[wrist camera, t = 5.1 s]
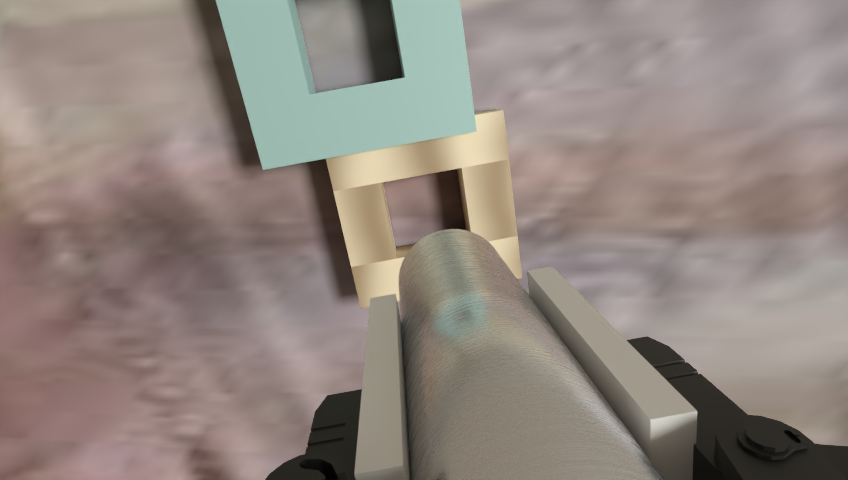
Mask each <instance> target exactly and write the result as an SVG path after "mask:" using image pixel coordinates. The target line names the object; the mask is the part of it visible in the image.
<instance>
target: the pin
mask: <svg viewBox="0 0 848 480" xmlns="http://www.w3.org/2000/svg"><path fill="white" fill-rule="evenodd" d="M398 283H399V300H400V317H401V326H402V342H403V358H404V374H405V390H406V407H407V423H408V439H409V455H410V471H411V480H664V478H663V477H662V476H661V474H660V473H659V471H658V470H657V469H656V467H655V466H654V465H653V463H652V462H651V461H650V459H649V458H648V456H647V455H646V454H645V452H644V451H643V450H642V448H641V447H640V446H639V444H638V443H637V441H636V440H635V439H634V437H633V436H632V435H631V433H630V432H629V431H628V429H627V428H626V427H625V425H624V424H623V422H622V421H621V420H620V418H619V417H618V416H617V414H616V413H615V412H614V410H613V409H612V407H611V406H610V405H609V403H608V402H607V401H606V399H605V398H604V397H603V395H602V394H601V392H600V391H599V390H598V388H597V387H596V386H595V384H594V383H593V382H592V380H591V379H590V377H589V376H588V375H587V373H586V372H585V371H584V369H583V368H582V367H581V365H580V364H579V363H578V361H577V360H576V358H575V357H574V356H573V354H572V353H571V352H570V350H569V349H568V348H567V346H566V345H565V343H564V342H563V341H562V339H561V338H560V337H559V335H558V334H557V333H556V331H555V330H554V328H553V327H552V326H551V324H550V323H549V322H548V320H547V319H546V318H545V316H544V315H543V314H542V312H541V311H540V309H539V308H538V307H537V305H536V304H535V303H534V301H533V300H532V299H531V297H530V296H529V294H528V293H527V292H526V290H525V289H524V288H523V286H522V285H521V284H520V282H519V281H518V279H517V278H516V277H515V275H514V274H513V273H512V271H511V270H510V269H509V267H508V266H507V264H506V263H505V262H504V260H503V259H502V258H501V256H500V255H499V254H498V252H497V251H496V250H495V248H494V247H493V246H492V245H491V244H490V243H489V242H488V241H487V240H486V239H484V238H483V237H481V236H480V235H478V234H475V233H473V232H470V231H467V230H461V229H447V230H441V231H437V232H434V233H432V234H429V235H427V236H426V237H424V238H422V239H421V240H419V241H418V242H417V243H416V244H415V245H414V246H413V247H412V248H411V249H410V250H409V251H408V253H407V254H406V256H405V258H404V260H403V262H402V264H401V267H400V271H399V281H398Z"/></svg>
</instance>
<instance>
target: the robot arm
mask: <svg viewBox="0 0 848 480" xmlns="http://www.w3.org/2000/svg"><path fill="white" fill-rule="evenodd" d="M527 275H528V286H529V296H530V297H531V299H532V300H533V301H534V303H535V304H536V305H537V307H538V308H539V309H540V311H541V312H542V314H543V315H544V316H545V318H546V319H547V320H548V322H549V323H550V324H551V326H552V327H553V328H554V330H555V331H556V333H557V334H558V335H559V337H560V338H561V339H562V341H563V342H564V343H565V345H566V346H567V348H568V349H569V350H570V352H571V353H572V354H573V356H574V357H575V358H576V360H577V361H578V363H579V364H580V365H581V367H582V368H583V369H584V371H585V372H586V373H587V375H588V376H589V377H590V379H591V380H592V382H593V383H594V384H595V386H596V387H597V388H598V390H599V391H600V392H601V394H602V395H603V397H604V398H605V399H606V401H607V402H608V403H609V405H610V406H611V407H612V409H613V410H614V412H615V413H616V414H617V416H618V417H619V418H620V420H621V421H622V422H623V424H624V425H625V427H626V428H627V429H628V431H629V432H630V433H631V435H632V436H633V437H634V439H635V440H636V441H637V443H638V444H639V446H640V447H641V448H642V450H643V451H644V452H645V454H646V455H647V456H648V458H649V459H650V461H651V462H652V463H653V465H654V466H655V467H656V469H657V470H658V471H659V473H660V474H661V476H662V477H663V478H664V480H848V446H833V445H820V444H814V443H813V442H812V441H811V440H810V439H808V438H807V437H806V436H805V435H803V434H802V433H801V432H800V431H798V430H797V429H795V428H792V427H790V426H788V425H786V424H784V423H782V422H780V421H777V420H773V419H770V418H766V417H762V416H754V415H747V414H746V413H745V412H744V411H743V410H742V409H740V408H739V407H738V406H737V405H736V404H735V403H734V402H732V401H731V400H730V399H729V398H728V397H727V396H726V395H724V394H723V393H722V392H721V391H720V390H719V389H717V388H716V387H715V386H714V385H713V384H712V383H711V382H709V381H708V380H707V379H706V378H705V377H704V376H702V375H701V374H698V372H697V370H696V369H694V368H693V367H692V366H691V365H690V364H689V363H685V361H684V359H683V358H682V357H681V356H679V355H678V354H677V353H676V352H675V351H674V350H672V349H671V348H670V347H669V346H667V345H665V344H663V343H660V342H658V341H656V340H654V339H651V338H649V337H642V338H636V339H631V340H626V339H625V338H624V337H623V336H622V335H621V334H620V333H619V332H618V331H617V330H616V329H615V328H614V327H613V326H612V325H611V324H610V323H608V322H607V321H606V320H605V319H604V318H603V317H602V316H601V315H600V314H599V313H598V312H597V311H596V310H595V309H594V308H593V307H592V306H591V305H590V304H589V303H588V302H587V301H586V300H585V299H584V298H583V297H582V296H581V295H580V294H579V293H578V292H577V291H576V290H575V289H574V288H573V287H572V286H571V285H570V284H569V283H568V282H567V281H566V280H565V279H564V278H563V277H562V276H561V275H560V274H559V273H558V272H557V271H556V270H555V269H554V268H553V267H546V268H540V269H535V270H529V271H527ZM265 480H411V471H410V455H409V439H408V423H407V407H406V390H405V374H404V358H403V342H402V326H401V319H400V314H399V309H398V303H397V298H396V294H391V295H385V296H379V297H374V298H370V305H369V316H368V327H367V338H366V349H365V361H364V372H363V383H362V389H361V390H355V391H350V392H344V393H339V394H333V395H328V396H327V397H326V398H325V400H324V401H323V402H322V403H321V405H320V406H319V407H318V409H317V410H316V411H315V415H314V419H313V423H312V427H311V433H310V436H309V440H308V447H307V449H306V453H305V455H300V456H298V457H296V458H293V459H291V460H289V461H287V462H285V463H283V464H282V465H281V466H279V467H278V468H277V469H275V470H274V471H273V472H272V473H270V474H269V475H268V477H267V478H266V479H265Z"/></svg>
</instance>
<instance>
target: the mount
mask: <svg viewBox="0 0 848 480" xmlns="http://www.w3.org/2000/svg"><path fill="white" fill-rule="evenodd" d="M474 114H475V121H476V129H477V131H476V132H470V133H465V134H459V135H454V136H448V137H442V138H437V139H431V140H426V141H420V142H415V143H409V144H404V145H398V146H393V147H387V148H382V149H376V150H370V151H365V152H359V153H354V154H348V155H343V156H337V157H332V158H326V162H327V166H328V171H329V175H330V179H331V183H332V188H333V192H334V196H335V201H336V205H337V209H338V213H339V218H340V222H341V226H342V230H343V235H344V239H345V243H346V248H347V252H348V256H349V260H350V265H351V269H352V273H353V277H354V282H355V286H356V290H357V295H358V299H359V303H360V307H361V308H365V307H369V305H370V298H374V297H379V296H385V295H391V294H396V298H397V301H400V300H399V283H398V281H399V271H400V267H401V264H402V262H403V260H404V258H405V256H406V254H407V253H408V251H409V250H410V249H411V248H412V247H413V246H414V245H415V244H413V245H408V246H403V247H397V248H396V246H395V241H394V236H393V231H392V226H391V221H390V216H389V211H388V206H387V201H386V196H385V191H384V186H383V182H387V181H393V180H398V179H404V178H409V177H415V176H420V175H426V174H431V173H437V172H442V171H447V170H453V169H457V172H458V179H459V185H460V192H461V199H462V206H463V213H464V219H465V226H466V230H467V231H470V232H473V233H475V234H478V235H480V236H481V237H483V238H484V239H486V240H487V241H488V242H489V243H490V244H491V245H492V246H493V247H494V248H495V250H496V251H497V252H498V254H499V255H500V256H501V258H502V259H503V260H504V262H505V263H506V264H507V266H508V267H509V269H510V270H511V271H512V273H513V274H514V275H515V277H516V278H517V279H518V278H522V273H521V264H520V255H519V246H518V237H517V228H516V219H515V210H514V201H513V192H512V183H511V174H510V165H509V156H508V148H507V139H506V130H505V121H504V112H503V110H496V109H494V110H489V111H483V112H478V113H474Z"/></svg>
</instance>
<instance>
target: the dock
mask: <svg viewBox="0 0 848 480" xmlns="http://www.w3.org/2000/svg"><path fill="white" fill-rule="evenodd" d="M216 3H217V7H218V10H219V14H220V18H221V21H222V25H223V28H224V32H225V36H226V39H227V43H228V46H229V50H230V53H231V57H232V61H233V64H234V68H235V71H236V75H237V79H238V82H239V86H240V89H241V93H242V97H243V100H244V104H245V107H246V111H247V115H248V118H249V122H250V125H251V129H252V133H253V136H254V140H255V143H256V147H257V151H258V154H259V158H260V161H261V165H262V169H263V170H265V169H271V168H276V167H282V166H287V165H293V164H298V163H304V162H310V161H315V160H321V159H326V158H332V157H337V156H343V155H348V154H354V153H359V152H365V151H370V150H376V149H382V148H387V147H393V146H398V145H404V144H409V143H415V142H420V141H426V140H431V139H437V138H442V137H448V136H454V135H459V134H465V133H470V132H476V131H477V129H476V121H475V114H474V106H473V99H472V91H471V83H470V76H469V68H468V60H467V53H466V45H465V37H464V30H463V22H462V14H461V7H460V0H390V5H391V11H392V17H393V23H394V28H395V34H396V40H397V46H398V51H399V57H400V63H401V69H402V75H403V78H399V79H394V80H388V81H382V82H377V83H371V84H365V85H360V86H354V87H348V88H343V89H337V90H332V91H326V92H320V93H316V90H315V86H314V82H313V77H312V73H311V68H310V64H309V60H308V55H307V51H306V47H305V42H304V38H303V34H302V29H301V25H300V21H299V16H298V12H297V8H296V3H295V0H216Z"/></svg>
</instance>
